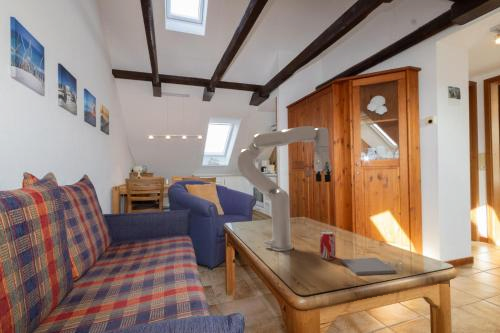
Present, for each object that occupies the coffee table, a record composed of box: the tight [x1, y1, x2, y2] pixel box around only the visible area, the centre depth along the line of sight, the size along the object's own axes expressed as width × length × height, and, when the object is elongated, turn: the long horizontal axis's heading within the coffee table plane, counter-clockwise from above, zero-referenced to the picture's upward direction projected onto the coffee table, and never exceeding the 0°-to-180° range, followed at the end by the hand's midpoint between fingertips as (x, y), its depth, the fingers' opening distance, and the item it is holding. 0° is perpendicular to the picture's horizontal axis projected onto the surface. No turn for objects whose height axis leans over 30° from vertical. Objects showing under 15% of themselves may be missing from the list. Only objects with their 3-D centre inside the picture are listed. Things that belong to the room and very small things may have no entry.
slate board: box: [341, 257, 397, 276], centre depth 103 cm, size 16×14×1 cm
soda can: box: [319, 230, 336, 261], centre depth 115 cm, size 7×7×12 cm
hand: (323, 181), depth 133 cm, fingers open, 9 cm apart
